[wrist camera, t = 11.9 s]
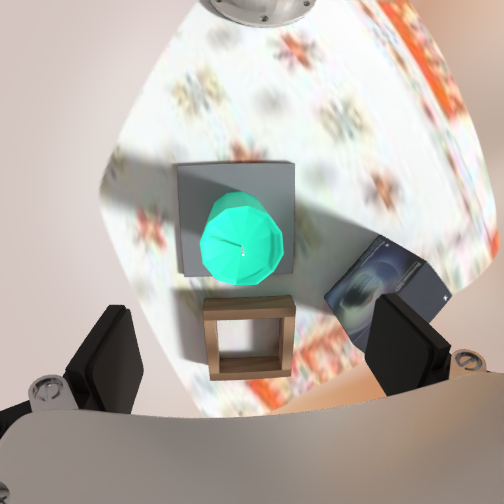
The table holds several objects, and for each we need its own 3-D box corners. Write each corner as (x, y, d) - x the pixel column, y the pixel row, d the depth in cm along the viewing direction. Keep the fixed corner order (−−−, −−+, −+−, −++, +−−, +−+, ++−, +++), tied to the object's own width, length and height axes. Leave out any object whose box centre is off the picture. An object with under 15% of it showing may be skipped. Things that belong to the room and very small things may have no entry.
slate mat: (178, 166, 29) (177, 166, 29) (293, 163, 30) (294, 163, 30) (185, 275, 33) (184, 277, 32) (291, 271, 34) (292, 273, 33)
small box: (378, 230, 33) (428, 257, 23) (406, 262, 35) (455, 295, 25) (320, 296, 35) (351, 344, 25) (353, 322, 37) (387, 371, 27)
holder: (204, 298, 34) (202, 311, 31) (290, 295, 35) (295, 306, 32) (211, 366, 37) (210, 380, 34) (286, 362, 38) (290, 376, 35)
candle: (197, 224, 31) (179, 262, 19) (233, 179, 30) (235, 190, 18) (242, 258, 32) (250, 312, 21) (278, 215, 31) (306, 247, 20)
